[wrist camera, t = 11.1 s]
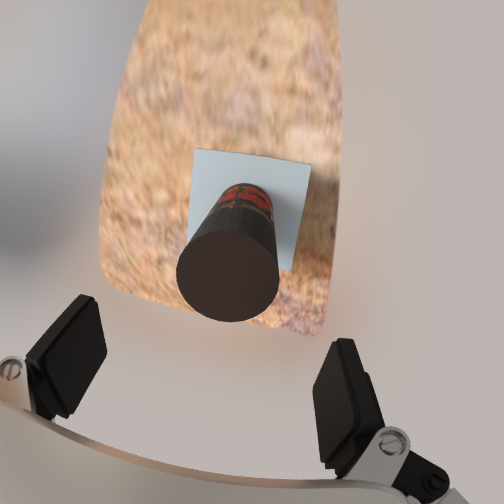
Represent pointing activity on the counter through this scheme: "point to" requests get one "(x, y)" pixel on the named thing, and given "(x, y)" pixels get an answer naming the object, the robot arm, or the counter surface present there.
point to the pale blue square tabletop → (260, 174)
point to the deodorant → (232, 257)
